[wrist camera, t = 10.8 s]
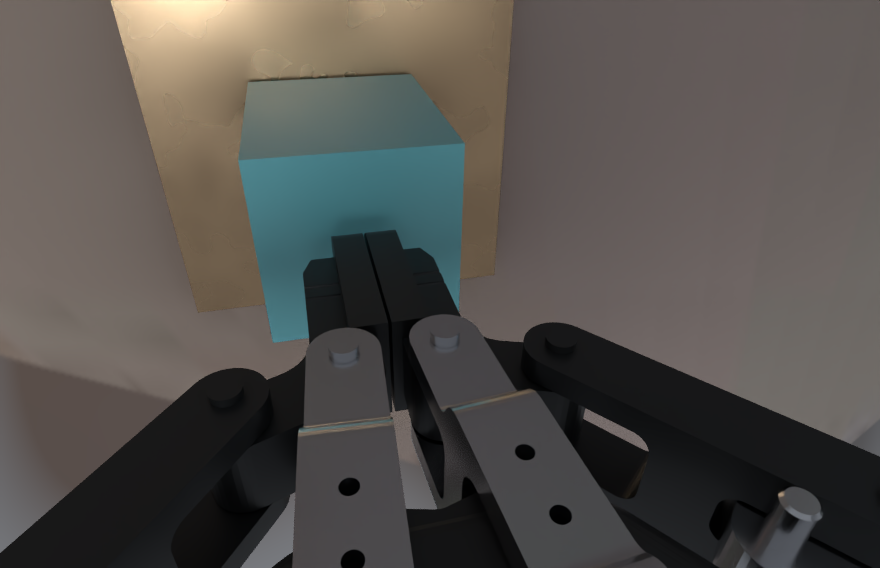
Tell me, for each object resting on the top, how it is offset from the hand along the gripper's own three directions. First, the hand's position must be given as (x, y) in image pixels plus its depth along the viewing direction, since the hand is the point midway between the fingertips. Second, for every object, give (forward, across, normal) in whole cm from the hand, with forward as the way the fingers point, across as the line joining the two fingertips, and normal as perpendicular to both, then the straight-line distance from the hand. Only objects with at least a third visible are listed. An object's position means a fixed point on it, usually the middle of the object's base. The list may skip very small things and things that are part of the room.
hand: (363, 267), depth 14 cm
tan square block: (+9, 0, 0) cm, 9 cm away
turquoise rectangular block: (+8, 0, 0) cm, 8 cm away
